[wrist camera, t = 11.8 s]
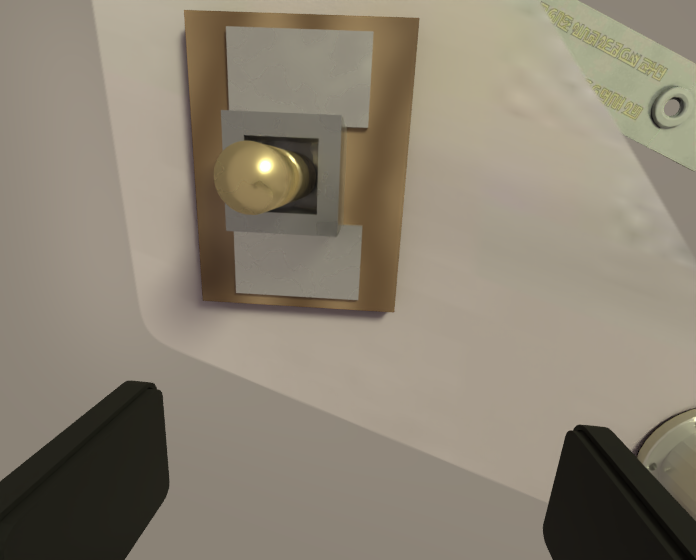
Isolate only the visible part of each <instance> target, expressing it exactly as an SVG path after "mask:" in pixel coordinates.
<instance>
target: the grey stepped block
mask: <svg viewBox="0 0 696 560" xmlns="http://www.w3.org/2000/svg"><path fill="white" fill-rule="evenodd" d="M373 33H374V31H348V30H320V29H291V28H262V27H234V26H226V43H227V69H228V95H229V110H221V126H222V148H223V150H224V149H225V148H226V147H228V146H229V145H231V144H233V143H235V142H239V141H254V142H258V143H262V144H266V145H269V146H273V147H277V148H281V149H284V150H288V151H292V152H296V153H299V154H302V155H304V156H305V157H307V158H308V159H309V160H310V161H311V163H312V164H313V166H314V169H315V172H316V182H315V185H314V188H313V189H312V191H311V192H310V193H309V194H308V195H307V196H305V197H304V198H301V199H299V200H296V201H293V202H291V203H288V204H285V205H283V206H280V207H278V208H275V209H272V210H270V211H267V212H264V213H261V214H257V215H246V214H242V213H239V212H237V211H235V210H233V209H231V208H230V207H229V206H228V205H227V204H225V216H226V231H234V251H235V277H236V293H247V294H263V295H280V296H296V297H313V298H330V299H346V300H358V296H359V278H360V261H361V243H362V226H363V225H347V224H343V217H344V194H345V170H346V147H347V127H348V128H368V121H369V103H370V86H371V68H372V51H373Z"/></svg>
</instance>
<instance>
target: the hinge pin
mask: <svg viewBox="0 0 696 560" xmlns="http://www.w3.org/2000/svg"><path fill="white" fill-rule="evenodd" d="M315 182H316V172H315V169H314V166H313V164H312V163H311V161H310V160H309V159H308V158H307V157H305V156H304V155H302V154H299V153H296V152H292V151H288V150H284V149H281V148H277V147H273V146H269V145H266V144H262V143H258V142H254V141H239V142H235V143H233V144H231V145H229V146H228V147H226V148H225V149H224V150H223V151H222V152H221V154H220V155H219V157H218V159H217V161H216V164H215V167H214V183H215V187H216V190H217V192H218V194H219V196H220V197H221V199H222V200H223V201H224V203H225V204H227V205H228V206H229V207H230V208H231V209H233V210H235V211H237V212H239V213H242V214H246V215H257V214H261V213H264V212H267V211H270V210H272V209H275V208H278V207H280V206H283V205H285V204H288V203H291V202H293V201H296V200H299V199H301V198H304V197H305V196H307V195H308V194H309V193H310V192H311V191H312V189H313V188H314V185H315Z"/></svg>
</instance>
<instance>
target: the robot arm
mask: <svg viewBox="0 0 696 560" xmlns="http://www.w3.org/2000/svg"><path fill="white" fill-rule="evenodd" d="M168 489H169V470H168V457H167V445H166V432H165V419H164V407H163V395H162V392H161V391H160V390H157V388H156V386H155V384H153V383H149V382H140V381H126V382H124V383H123V384H121V385H120V386H119V387H118V388H117V389H115V390H114V391H113V392H111V393H110V394H109V395H108V396H106V397H105V398H104V399H103V400H101V401H100V402H99V403H98V404H97V405H95V406H94V407H93V408H92V409H90V410H89V411H88V412H86V413H85V414H84V415H83V416H81V417H80V418H79V419H78V420H76V422H74V423H73V424H72V425H70V426H69V427H68V428H66V429H65V430H64V431H63V432H61V433H60V434H59V435H58V436H57V437H55V438H54V439H53V440H52V441H50V442H49V443H48V444H46V445H45V446H44V447H43V448H41V449H40V450H39V451H38V452H37V453H35V454H34V455H33V456H31V457H30V458H29V459H28V460H26V461H25V462H24V463H23V464H21V465H20V466H19V467H18V468H16V469H15V470H14V471H13V472H11V474H9V475H8V476H6V477H5V478H4V479H3V480H2V481H1V482H0V560H125V558H126V557H127V555H128V554H129V552H130V551H131V549H132V548H133V546H134V545H135V543H136V541H137V540H138V538H139V537H140V536H141V534H142V533H143V531H144V530H145V528H146V527H147V525H148V524H149V522H150V521H151V519H152V518H153V516H154V515H155V513H156V512H157V510H158V509H159V507H160V506H161V504H162V503H163V501H164V499H165V498H166V495H167V493H168ZM543 535H544V540H545V543H546V546H547V548H548V550H549V552H550V554H551V557H552V559H553V560H696V409H692V410H690V411H687V412H685V413H682V414H680V415H677V416H676V417H674V418H672V419H670V420H669V421H667V422H665V423H664V424H663V425H661V426H660V427H659V428H658V429H656V430H655V431H654V432H653V433H652V434H651V436H650V437H649V438H648V439H647V440H646V441H645V443H644V445H643V446H642V448H641V449H640V451H639V454H638V457H636V456H635V455H634V454H633V453H632V452H631V451H630V450H629V449H628V448H627V447H626V446H625V445H624V443H623V442H622V441H621V440H620V439H619V438H618V437H617V436H616V435H615V434H614V433H613V432H612V431H611V430H610V429H609V428H606V427H599V426H589V425H577V426H576V427H575V428H574V430H573V431H568V432H567V434H566V436H565V440H564V444H563V448H562V452H561V456H560V460H559V464H558V468H557V472H556V476H555V480H554V484H553V488H552V492H551V496H550V500H549V504H548V508H547V512H546V516H545V520H544V524H543Z"/></svg>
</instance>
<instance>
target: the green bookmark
mask: <svg viewBox="0 0 696 560" xmlns="http://www.w3.org/2000/svg"><path fill="white" fill-rule="evenodd" d="M540 2H541V4H542V6H543V7H544V9H545V11H546V12H547V14H548V16H549V17H550V19H551V21H552V23H553V24H554V26H555V28H556V29H557V31H558V33H559V35H560V36H561V38H562V40H563V41H564V43H565V45H566V46H567V48H568V50H569V52H570V53H571V55H572V57H573V58H574V60H575V62H576V63H577V65H578V67H579V69H580V70H581V72H582V73H583V75H584V77H585V78H586V79H587V81H588V83H589V84H590V86H591V87H592V89H593V90H594V91H595V93H596V95H597V96H598V97H599V99H600V100H601V102H602V103H603V104H604V106H605V107H606V108H607V110H608V112H609V113H610V115H611V116H612V118H613V120H614V121H615V123H616V124H617V126H618V128H619V129H620V131H621V132H622V135H624V136H626V137H628V138H630V139H632V140H634V141H636V142H638V143H640V144H642V145H644V146H645V147H647V148H650V149H651V150H653V151H655V152H657V153H659V154H661V155H663V156H665V157H667V158H669V159H671V160H673V161H674V162H676V163H678V164H680V165H682V166H684V167H686V168H688V169H690V170H692V171H696V63H694V62H692V61H690V60H688V59H686V58H685V57H683V56H681V55H679V54H677V53H675V52H673V51H671V50H670V49H668V48H666V47H664V46H662V45H660V44H658V43H656V42H655V41H653V40H651V39H649V38H647V37H645V36H644V35H642V34H640V33H638V32H636V31H634V30H632V29H631V28H628V27H627V26H625V25H623V24H621V23H619V22H617V21H615V20H614V19H612V18H610V17H608V16H606V15H604V14H602V13H600V12H599V11H597V10H595V9H593V8H591V7H589V6H588V5H586V4H584V3H582V2H580V1H578V0H540ZM673 99H674V100H677V101H678V102H679V105H680V108H679V110H678V112H677V113H676V114H675V115H673V116H667V115H666V114H665V113H664V106H665V104H666V103H667V102H668V101H669V100H673Z"/></svg>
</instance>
